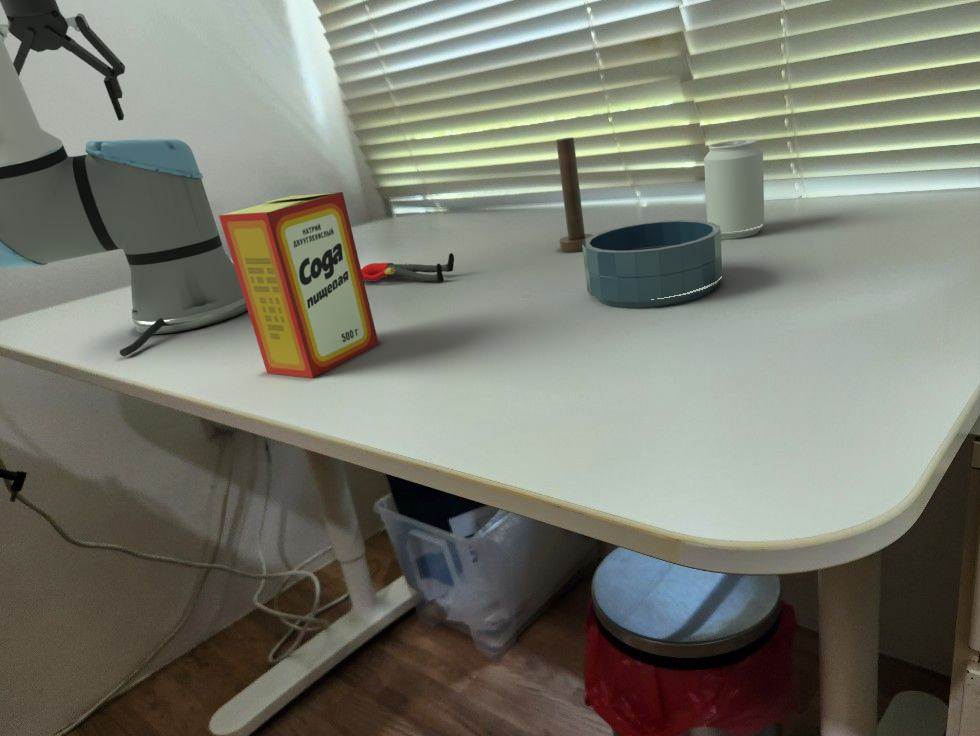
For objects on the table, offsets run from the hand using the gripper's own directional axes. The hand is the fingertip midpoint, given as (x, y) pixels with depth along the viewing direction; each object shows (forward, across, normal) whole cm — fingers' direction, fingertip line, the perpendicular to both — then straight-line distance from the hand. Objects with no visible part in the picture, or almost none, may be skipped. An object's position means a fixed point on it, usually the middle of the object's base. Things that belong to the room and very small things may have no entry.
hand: (79, 123), depth 130 cm
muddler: (+9, -68, +61) cm, 92 cm away
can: (+6, -87, +72) cm, 113 cm away
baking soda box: (+3, -30, +85) cm, 90 cm away
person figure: (+11, -42, +57) cm, 72 cm away
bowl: (+1, -66, +88) cm, 110 cm away
